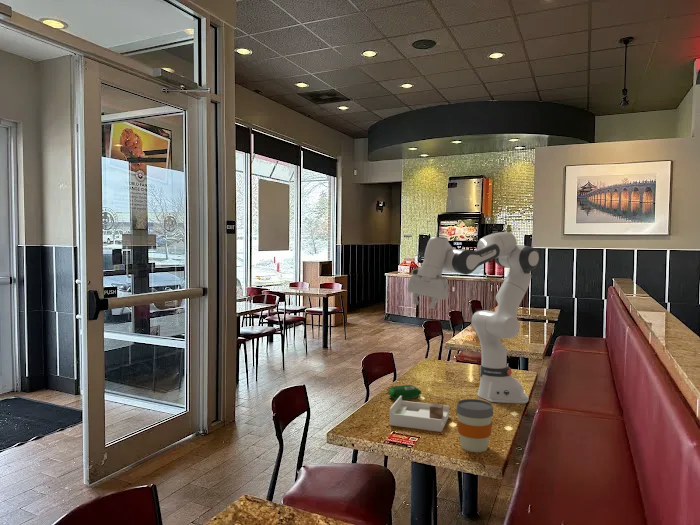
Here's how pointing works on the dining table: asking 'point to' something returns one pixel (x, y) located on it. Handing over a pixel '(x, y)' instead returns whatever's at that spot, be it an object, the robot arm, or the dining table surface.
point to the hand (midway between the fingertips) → (423, 306)
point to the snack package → (404, 392)
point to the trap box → (416, 415)
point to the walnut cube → (436, 411)
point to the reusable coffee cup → (474, 424)
